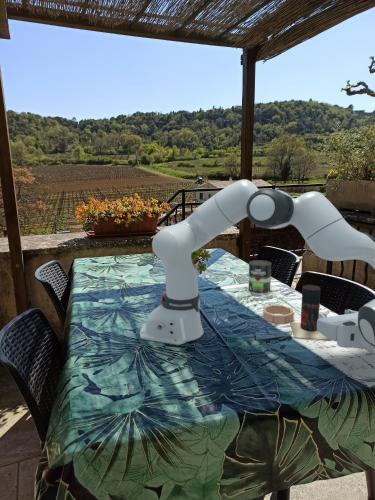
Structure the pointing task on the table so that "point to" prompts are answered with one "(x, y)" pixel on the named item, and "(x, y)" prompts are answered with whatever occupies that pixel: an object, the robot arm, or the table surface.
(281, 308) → the ring dish
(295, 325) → the beige square cloth
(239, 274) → the table surface
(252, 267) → the coffee can
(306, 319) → the deodorant
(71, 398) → the table surface
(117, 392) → the table surface
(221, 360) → the table surface
